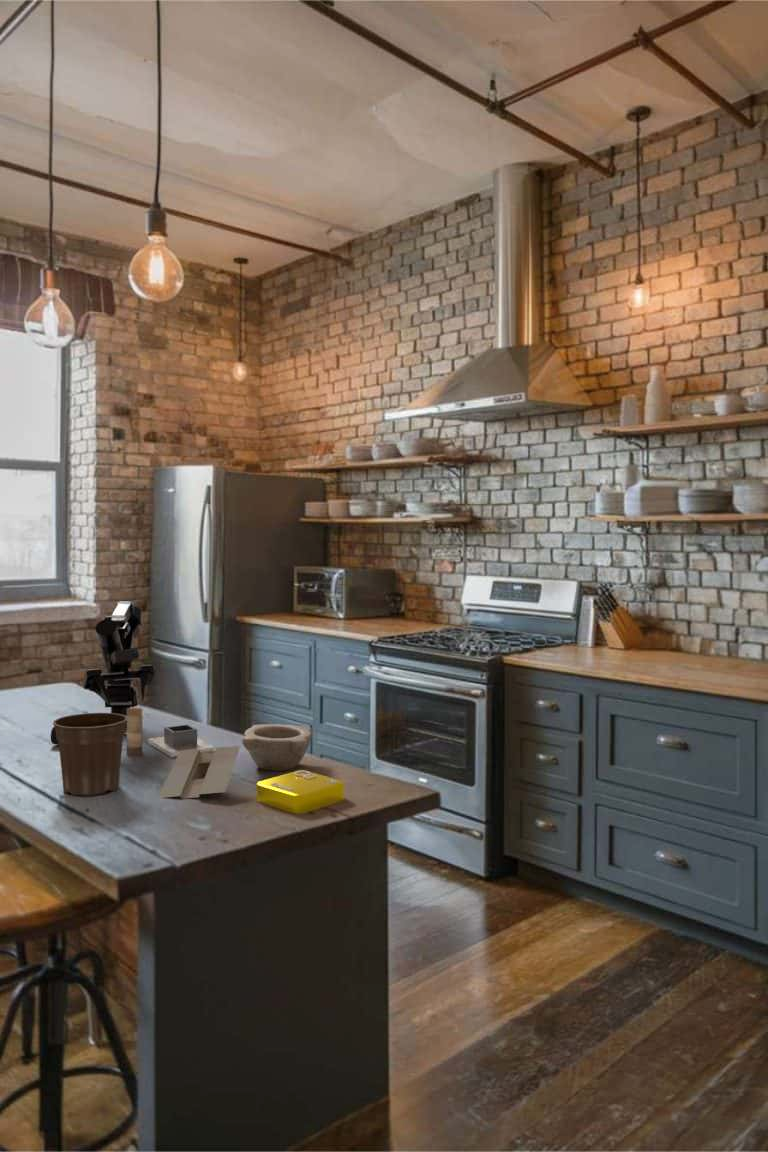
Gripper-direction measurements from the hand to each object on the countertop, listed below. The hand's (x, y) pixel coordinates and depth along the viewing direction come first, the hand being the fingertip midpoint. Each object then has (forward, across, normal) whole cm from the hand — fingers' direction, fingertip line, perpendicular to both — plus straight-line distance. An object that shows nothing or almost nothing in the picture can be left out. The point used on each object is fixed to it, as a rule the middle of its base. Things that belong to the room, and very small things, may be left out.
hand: (126, 701), depth 234 cm
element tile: (+55, +19, -36) cm, 68 cm away
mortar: (+36, +27, -17) cm, 48 cm away
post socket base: (+14, +13, +4) cm, 19 cm away
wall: (+42, +2, -24) cm, 49 cm away
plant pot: (+32, -18, -13) cm, 39 cm away
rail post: (+14, 0, +4) cm, 15 cm away
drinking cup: (-2, -16, +16) cm, 23 cm away
